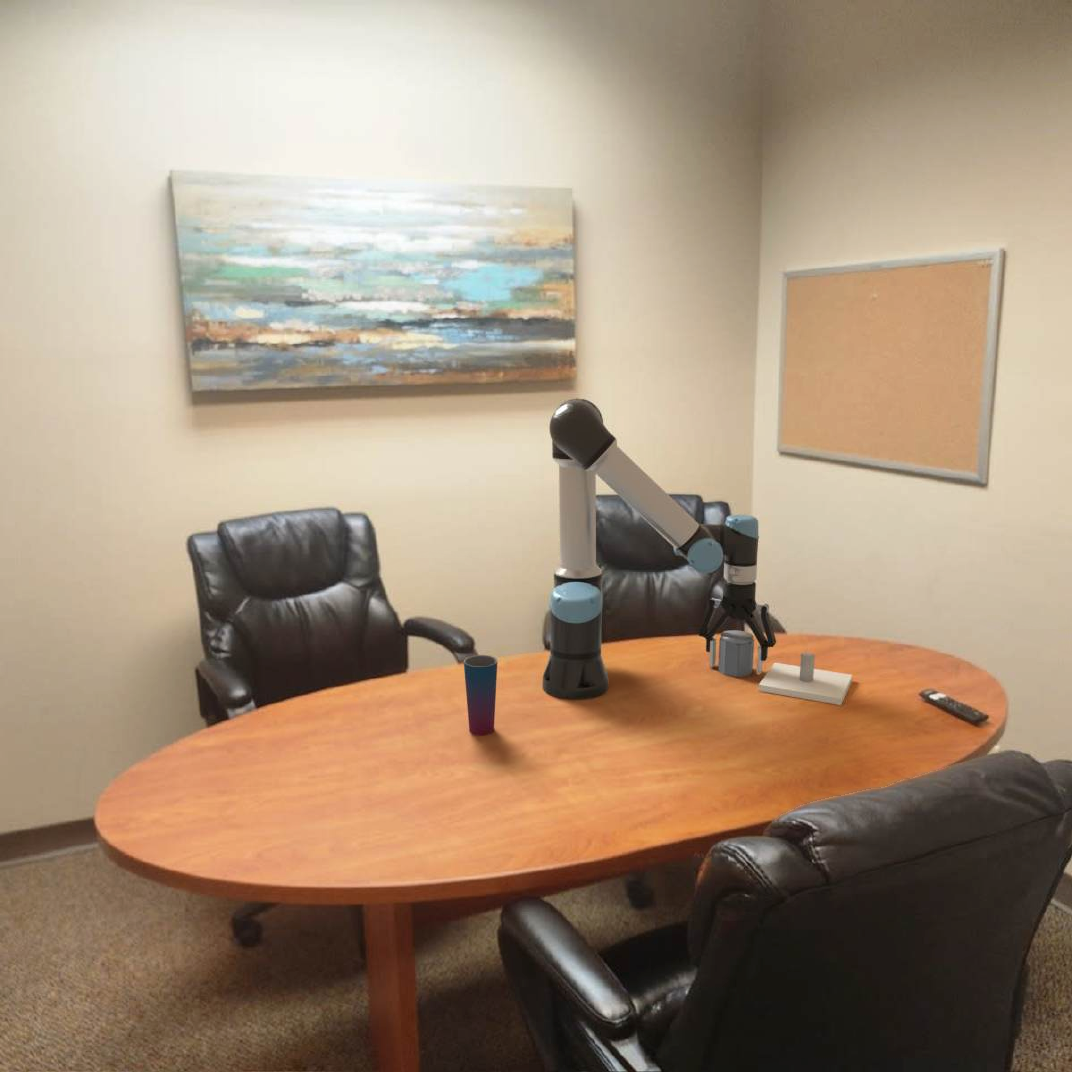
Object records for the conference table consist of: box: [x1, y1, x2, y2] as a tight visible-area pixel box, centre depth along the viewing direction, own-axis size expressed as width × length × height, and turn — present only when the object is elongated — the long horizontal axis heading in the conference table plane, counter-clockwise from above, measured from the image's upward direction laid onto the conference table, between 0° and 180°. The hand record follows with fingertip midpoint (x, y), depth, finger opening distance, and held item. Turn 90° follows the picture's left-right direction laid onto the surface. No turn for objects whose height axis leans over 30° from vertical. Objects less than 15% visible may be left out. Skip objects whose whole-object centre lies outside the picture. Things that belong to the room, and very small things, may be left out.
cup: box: [463, 654, 499, 736], centre depth 179 cm, size 7×7×15 cm
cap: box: [717, 629, 755, 678], centre depth 212 cm, size 8×8×9 cm
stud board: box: [758, 652, 853, 706], centre depth 203 cm, size 18×16×8 cm
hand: (735, 668), depth 213 cm, fingers open, 11 cm apart
